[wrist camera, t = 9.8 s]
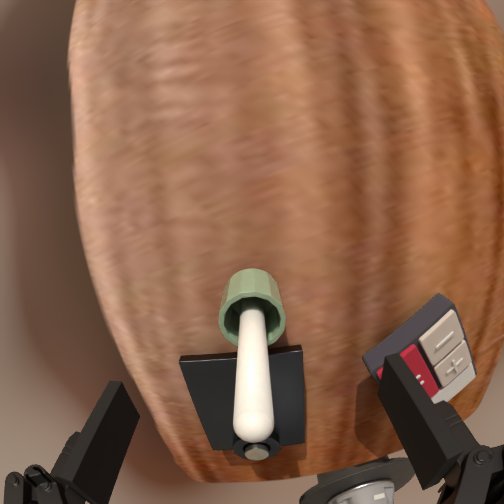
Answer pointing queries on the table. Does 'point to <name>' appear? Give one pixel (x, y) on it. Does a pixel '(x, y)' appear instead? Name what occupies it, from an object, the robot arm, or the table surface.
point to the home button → (256, 451)
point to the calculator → (429, 350)
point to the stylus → (253, 375)
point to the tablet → (223, 396)
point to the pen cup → (250, 286)
